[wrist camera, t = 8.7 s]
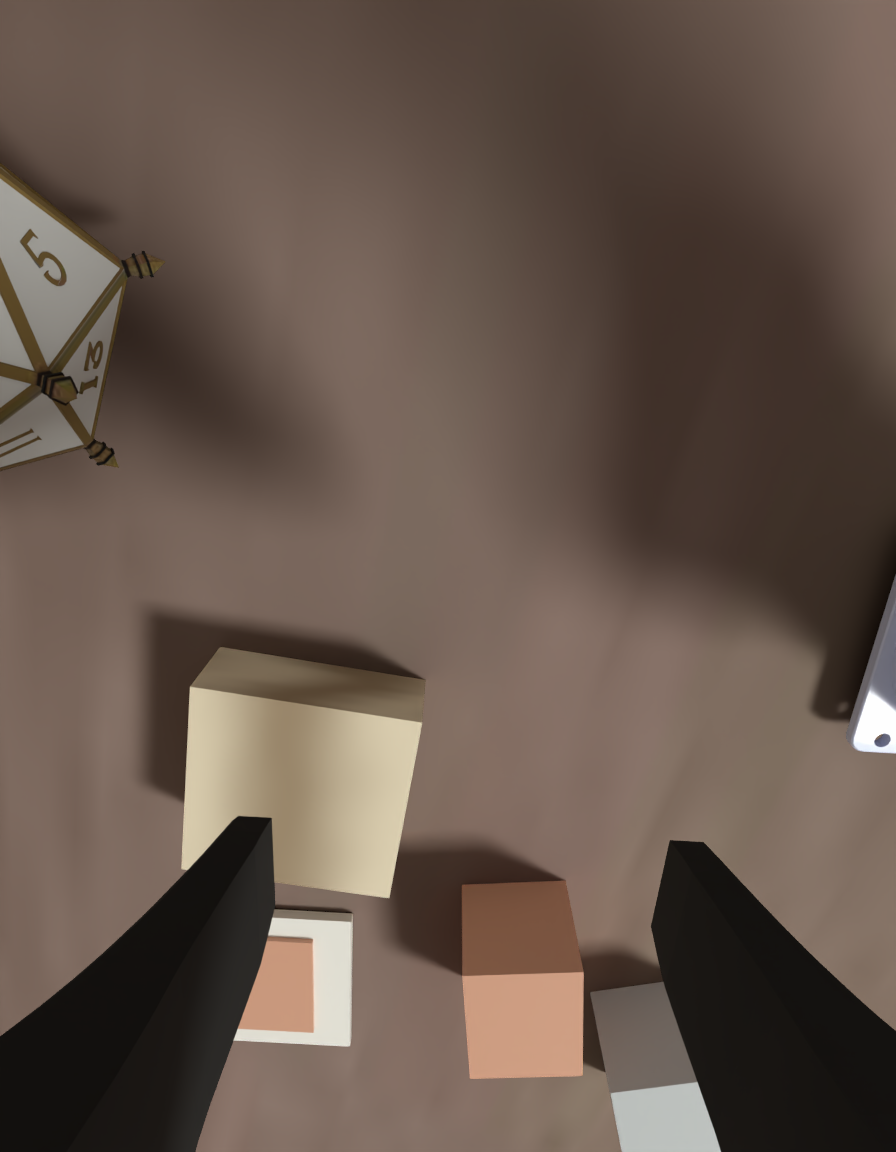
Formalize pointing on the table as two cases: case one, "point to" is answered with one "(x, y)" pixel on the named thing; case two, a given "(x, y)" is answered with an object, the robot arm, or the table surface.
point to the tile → (303, 981)
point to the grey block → (650, 1073)
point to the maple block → (303, 765)
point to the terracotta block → (521, 981)
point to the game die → (54, 327)
